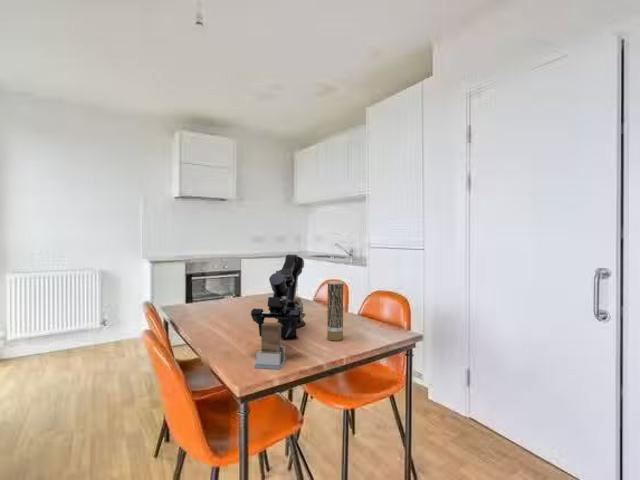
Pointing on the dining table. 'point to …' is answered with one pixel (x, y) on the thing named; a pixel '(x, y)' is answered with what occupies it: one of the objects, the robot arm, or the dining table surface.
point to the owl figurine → (300, 307)
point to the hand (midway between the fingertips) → (272, 336)
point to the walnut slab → (271, 337)
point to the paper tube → (335, 311)
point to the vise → (270, 359)
